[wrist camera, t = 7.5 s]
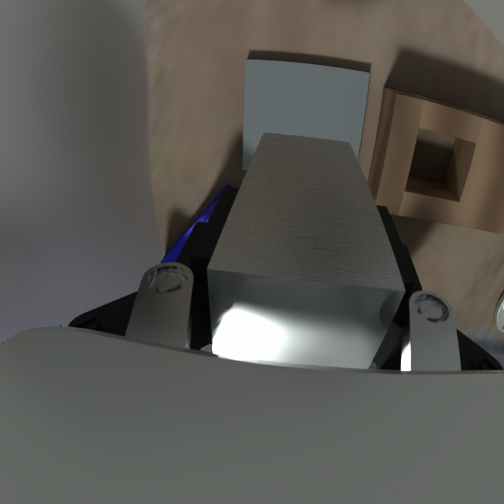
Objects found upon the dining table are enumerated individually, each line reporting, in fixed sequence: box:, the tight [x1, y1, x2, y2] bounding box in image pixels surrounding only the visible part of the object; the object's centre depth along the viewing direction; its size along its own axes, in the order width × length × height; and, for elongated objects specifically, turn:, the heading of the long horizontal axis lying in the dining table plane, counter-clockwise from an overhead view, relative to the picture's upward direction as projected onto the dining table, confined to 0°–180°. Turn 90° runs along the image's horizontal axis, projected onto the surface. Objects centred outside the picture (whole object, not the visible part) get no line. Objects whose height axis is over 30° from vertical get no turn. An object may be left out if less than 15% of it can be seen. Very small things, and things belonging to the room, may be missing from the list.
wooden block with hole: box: [367, 87, 504, 234], centre depth 23 cm, size 16×10×4 cm, turn 88°
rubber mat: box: [242, 59, 370, 170], centre depth 26 cm, size 10×10×1 cm
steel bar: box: [207, 133, 405, 369], centre depth 11 cm, size 4×4×10 cm
